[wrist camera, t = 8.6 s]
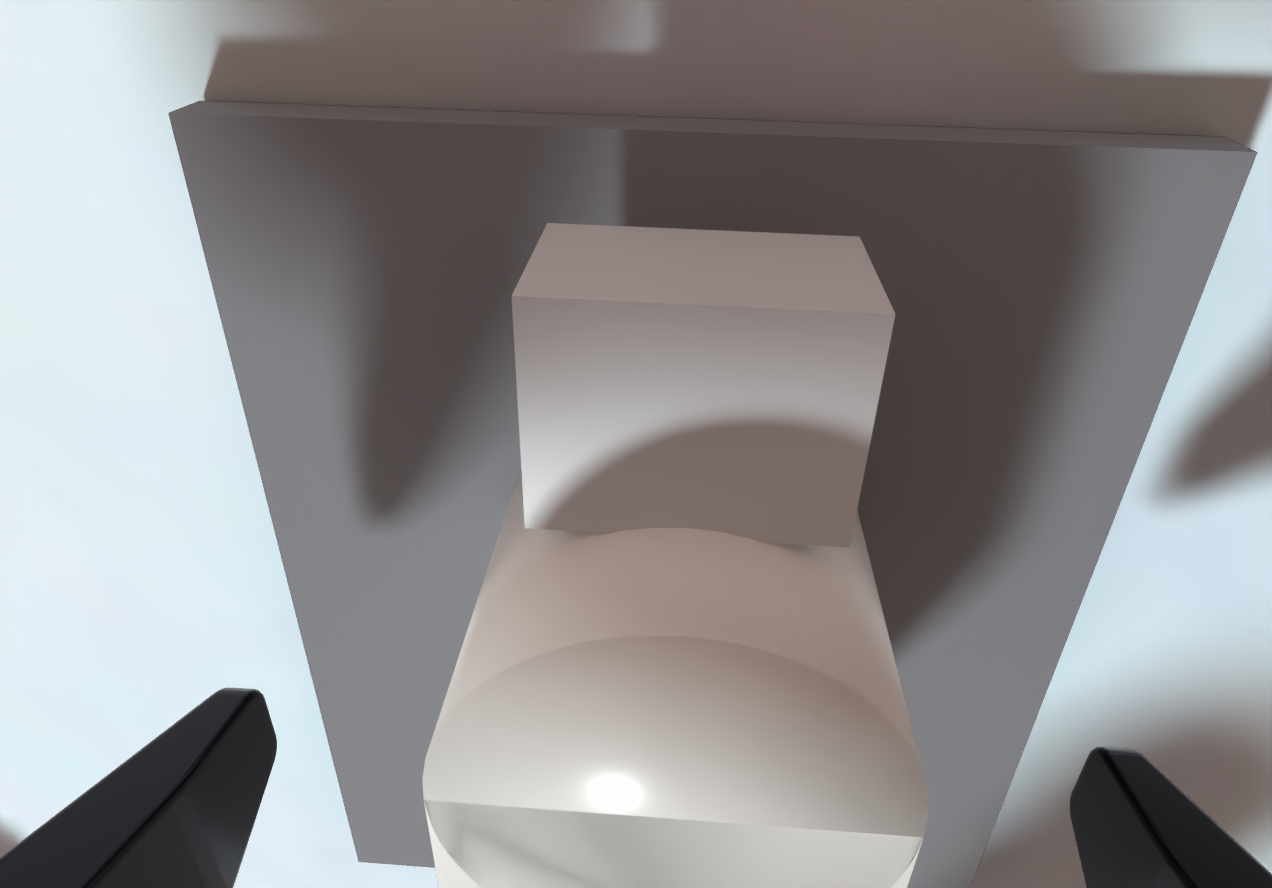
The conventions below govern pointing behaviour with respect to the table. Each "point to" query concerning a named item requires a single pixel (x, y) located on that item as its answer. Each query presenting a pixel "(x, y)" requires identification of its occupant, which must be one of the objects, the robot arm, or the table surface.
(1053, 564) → the coaster
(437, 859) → the plug
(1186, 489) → the table surface
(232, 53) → the table surface
